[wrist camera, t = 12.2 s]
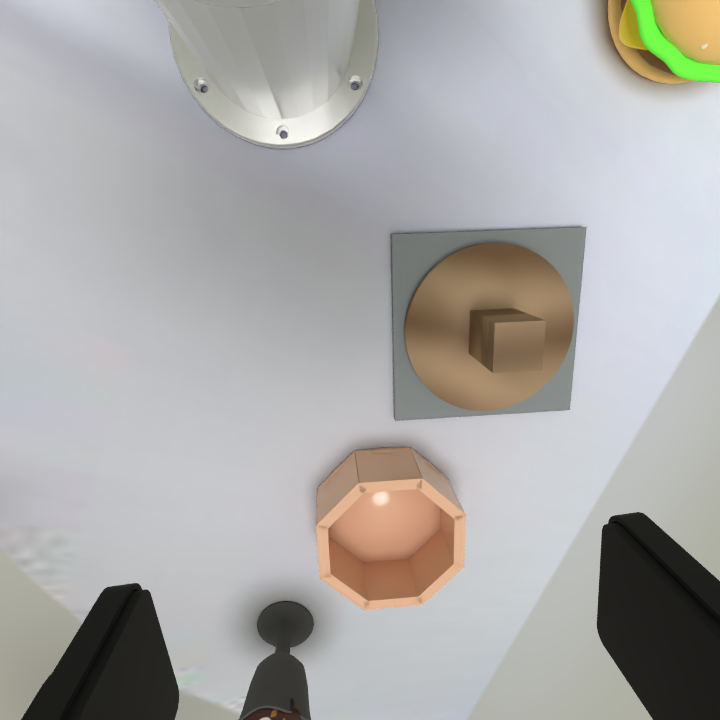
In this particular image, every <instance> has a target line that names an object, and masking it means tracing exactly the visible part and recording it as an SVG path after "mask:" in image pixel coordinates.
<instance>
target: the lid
mask: <svg viewBox="0 0 720 720" xmlns="http://www.w3.org/2000/svg"><path fill="white" fill-rule="evenodd" d="M573 328H574V312H573V304H572V300H571V296H570V293H569V291H568V288H567V286H566V284H565V282H564V280H563V278H562V277H561V275H560V274H559V273H558V271H557V270H556V269H555V268H554V267H553V266H552V265H551V264H550V263H549V262H548V261H547V260H546V259H544V258H543V257H542V256H540V255H539V254H537V253H535V252H533V251H531V250H529V249H527V248H524V247H521V246H518V245H512V244H506V243H484V244H477V245H473V246H469V247H466V248H463V249H461V250H458V251H456V252H454V253H452V254H450V255H449V256H447V257H445V258H444V259H443V260H441V261H440V262H438V263H437V264H436V265H435V266H434V267H433V268H432V269H431V270H430V271H429V272H428V273H427V274H426V275H425V276H424V278H423V279H422V280H421V282H420V283H419V285H418V286H417V288H416V289H415V291H414V293H413V296H412V298H411V300H410V303H409V306H408V309H407V313H406V318H405V327H404V337H405V346H406V350H407V354H408V357H409V360H410V363H411V365H412V367H413V369H414V370H415V372H416V374H417V375H418V377H419V378H420V380H421V381H422V382H423V384H424V385H425V386H426V387H427V388H428V389H429V390H430V391H431V392H432V393H433V394H435V395H436V396H437V397H438V398H440V399H442V400H443V401H445V402H447V403H449V404H451V405H454V406H456V407H459V408H463V409H467V410H474V411H491V410H499V409H503V408H507V407H510V406H513V405H515V404H518V403H520V402H522V401H524V400H526V399H528V398H529V397H531V396H532V395H534V394H535V393H537V392H538V391H539V390H540V389H541V388H543V387H544V386H545V385H546V384H547V383H548V382H549V381H550V380H551V378H552V377H553V376H554V375H555V373H556V372H557V371H558V369H559V368H560V366H561V364H562V363H563V361H564V359H565V357H566V354H567V352H568V350H569V347H570V343H571V340H572V335H573Z"/></svg>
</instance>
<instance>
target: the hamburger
mask: <svg viewBox="0 0 720 720" xmlns="http://www.w3.org/2000/svg"><path fill="white" fill-rule="evenodd" d="M608 21H609V26H610V31H611V36H612V38H613V41H614V44H615V46H616V48H617V50H618V52H619V53H620V55H621V57H622V58H623V60H624V61H625V62H626V63H627V64H628V65H629V66H630V67H631V68H632V69H633V70H634V71H636V72H637V73H639V74H640V75H641V76H644V77H646V78H648V79H651V80H653V81H655V82H661V83H666V84H681V83H686V82H691V81H709V82H716V83H720V0H608Z"/></svg>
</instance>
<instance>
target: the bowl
mask: <svg viewBox="0 0 720 720" xmlns="http://www.w3.org/2000/svg"><path fill="white" fill-rule="evenodd" d="M465 520H466V515H465V513H464V511H463V509H462V507H461V505H460V503H459V501H458V499H457V497H456V495H455V493H454V491H453V489H452V487H451V485H450V483H449V481H448V479H447V478H446V477H445V476H444V475H442V474H441V473H440V472H439V471H438V470H437V469H436V468H435V467H434V466H433V465H432V464H431V463H430V462H429V461H427V460H426V459H425V458H423V457H421V456H420V455H419V454H418V453H417V452H415V451H414V450H413V449H412V448H411V447H400V448H391V447H386V448H375V449H369V450H355V451H354V452H353V453H352V454H351V455H350V456H349V457H348V458H347V459H346V460H345V461H344V462H342V463H341V464H340V465H339V466H338V467H336V468H335V469H334V471H333V472H332V473H331V474H330V475H329V477H328V478H327V479H326V480H325V481H324V482H323V483H322V484H321V485H320V486H319V487H318V489H317V517H316V531H317V545H318V559H319V573H320V579H321V580H323V581H324V582H325V583H327V584H328V585H330V586H331V587H332V588H334V589H335V590H337V591H338V592H339V593H341V594H342V595H344V596H345V597H346V598H348V599H349V600H351V601H352V602H353V603H355V604H356V605H358V606H359V607H360V608H362V609H363V610H364V609H365V610H370V609H382V608H394V607H405V606H417V605H423V604H424V603H425V602H426V601H427V600H429V599H430V598H431V597H432V596H433V595H434V594H435V593H436V592H437V591H438V590H439V589H441V588H442V587H443V586H444V585H445V584H446V583H447V582H448V581H449V580H450V579H451V578H453V577H454V576H455V575H456V574H457V573H458V572H459V571H460V570H461V569H462V568H463V567H464V554H465Z"/></svg>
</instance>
